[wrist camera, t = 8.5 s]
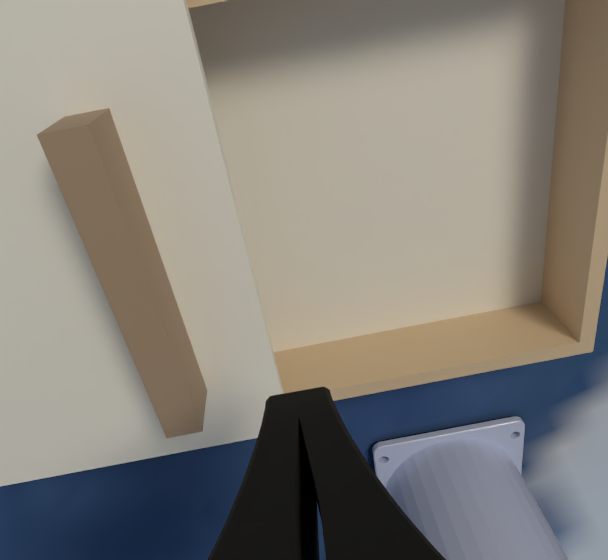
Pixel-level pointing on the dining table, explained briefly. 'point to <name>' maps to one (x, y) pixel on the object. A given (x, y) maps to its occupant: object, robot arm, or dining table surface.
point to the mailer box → (415, 180)
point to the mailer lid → (118, 245)
